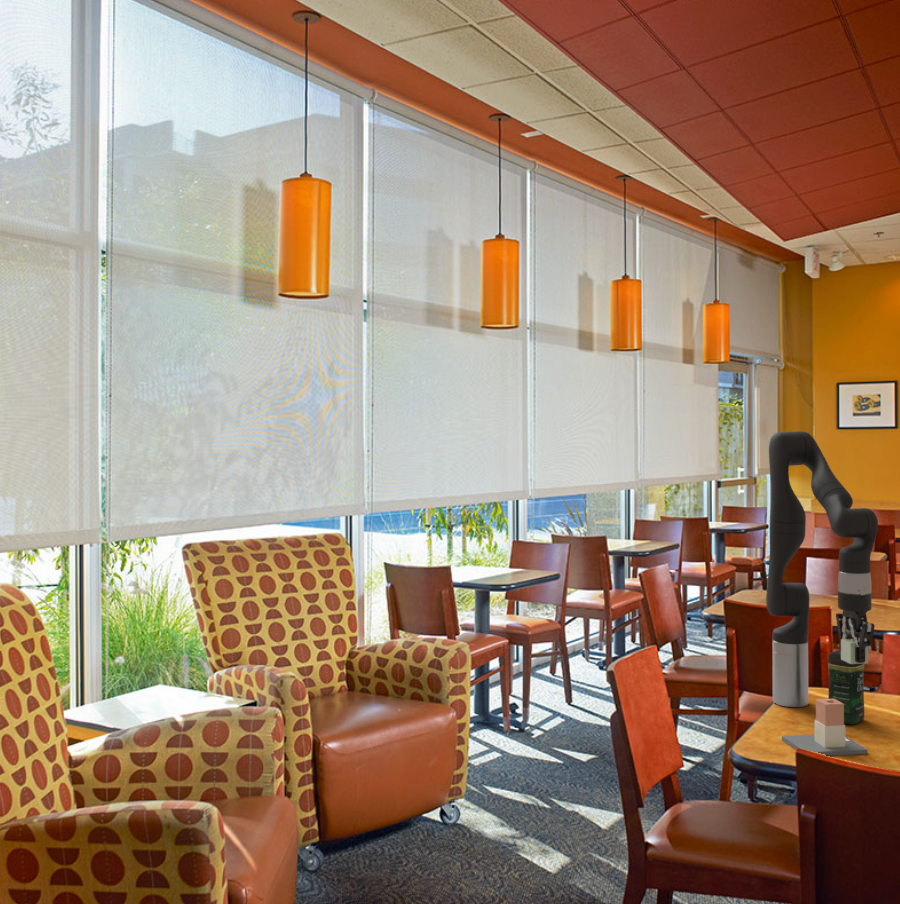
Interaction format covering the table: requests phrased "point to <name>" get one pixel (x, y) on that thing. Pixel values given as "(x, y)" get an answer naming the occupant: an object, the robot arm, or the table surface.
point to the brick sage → (850, 651)
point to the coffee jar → (847, 686)
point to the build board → (818, 748)
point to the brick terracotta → (829, 712)
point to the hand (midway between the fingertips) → (854, 659)
